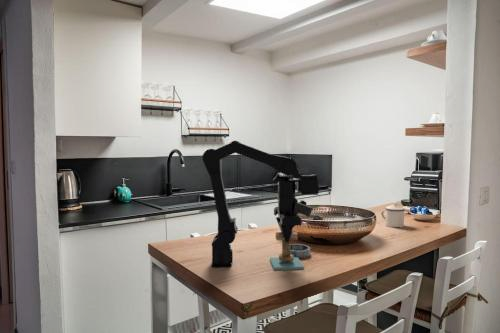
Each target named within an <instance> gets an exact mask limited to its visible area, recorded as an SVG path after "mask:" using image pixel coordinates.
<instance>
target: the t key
mask: <svg viewBox="0 0 500 333" xmlns="http://www.w3.org/2000/svg"><path fill="white" fill-rule="evenodd" d="M298 237H299V236H298V233H297V232H296V231H292V233H291V236H290V240H289V242H286V241H285V238H284V236H283V233H282V232H281V231H280V232H277V231H276V232H275V239H276V241H281V242H282V244H281V248H282V249H281V253H280V254H279V255H278V258H279V260H280V261H283V262H291V261H293V260H294V256H293V255H291V254H290V249H291V244H292V242H291V241H299V240H298Z"/></svg>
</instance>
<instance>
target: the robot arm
mask: <svg viewBox="0 0 500 333" xmlns="http://www.w3.org/2000/svg"><path fill="white" fill-rule="evenodd" d="M234 154H238V155H241V156H243V157H246V158H249V159H252V160H253V161H256V162H259V163H262V164H265V165H267V166H269V167H271V168H272V169H274V170H276V171H277V172H279V173H281V174H282V175H284V176H281V175H279V173H277V174H276V176H275V177H274V178H272V181H273V182H277V184H278V189H277V190H278V194H277V197H276V200H277V201H278V204H277V205H278V206H275V207H274V208H273V215H274V216H277V217H275V219H276V221H277V225H278V227H279V230H280V232H282V233H283V236H284V238H285V241H286V242H289V240H290V236H291V233H292V232H293V229H294V227H295V226H302V218H301V217H300V216H299V214H301V215H303V216H305V217H308V218H311V214H312V211H313V207H312V206H309V205H308V204H307V201H305V200H301V199H300V201H299V200H298V199H297V198H296V191H297V193H299V195H301V196H318V195H319V189H320V188H319V187H320V186H319V180H318V175H317V174H307V175H306V174H301V172H299V170H298V169H297V166H298V165H297V163H296V161H295V160H294V159H293V158H290V157H287V156H282V155H278V154H277V155H276V154H271V153H269V152H265V151H263V150H260V149H257V148H254V147H252V146H251V145H250V146H249V145H246V144H244V143H242V142H240V141H238V140H231V142H229V143H227V144H225V145H223V146H221V147H218V148H209V149H206V150H205V151H204V152H203V154H202V162H203V164H204V167H205V169H206V171H207V174H208V176H209V177H210V184H211V188H212V193H213V199H214V203H215V209H216V214H217V234H216V235H215V236H214V237H213V240H212V242H211V267H212V268H224V267H225V268H226V267H227V268H228V267H232V264H233V255H234V254H233V249H232V246H231V244H232V243H233V242H234V241H235V239H236V234H238V229H239V228H238V226H237V223H236V222H237V221H236V217H233V218H232V217H231V214H230V210H229V205H228V199H227V195H226V190H225V185H224V179H223V174H222V168H223V161H222V159H224V158H226V157H227V158H228V156H231V155H234ZM290 176H291V177H293V178H294V179H292V178H290Z"/></svg>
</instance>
